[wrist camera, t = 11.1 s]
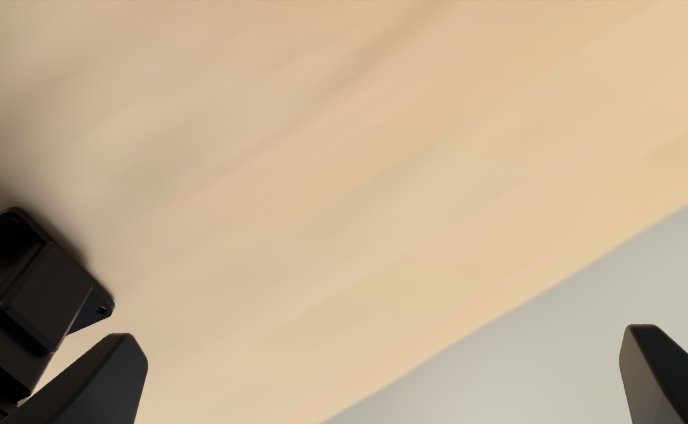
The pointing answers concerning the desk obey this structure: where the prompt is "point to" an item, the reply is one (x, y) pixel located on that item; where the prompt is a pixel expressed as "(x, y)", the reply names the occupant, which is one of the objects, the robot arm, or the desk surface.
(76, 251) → the desk surface
